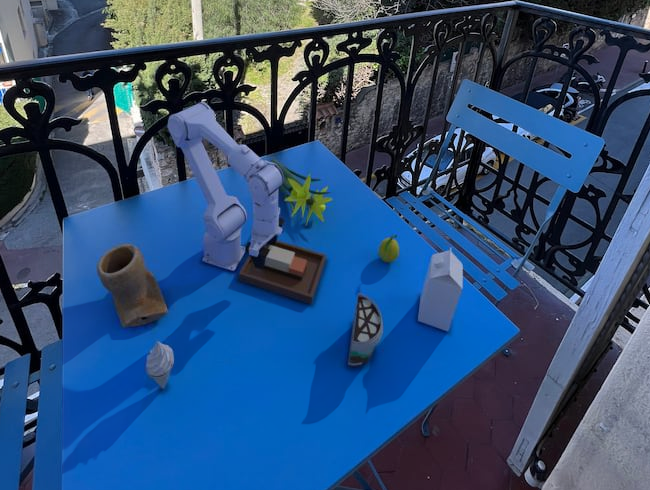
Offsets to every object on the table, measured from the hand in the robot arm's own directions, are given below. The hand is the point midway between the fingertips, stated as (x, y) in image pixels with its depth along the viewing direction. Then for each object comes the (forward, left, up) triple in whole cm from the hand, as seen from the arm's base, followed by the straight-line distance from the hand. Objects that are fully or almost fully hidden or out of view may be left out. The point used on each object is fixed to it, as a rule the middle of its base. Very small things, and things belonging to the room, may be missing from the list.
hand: (265, 255), depth 99 cm
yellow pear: (+29, +18, -10) cm, 36 cm away
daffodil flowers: (-4, +30, -10) cm, 32 cm away
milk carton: (+42, +6, -10) cm, 44 cm away
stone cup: (-27, -16, -10) cm, 33 cm away
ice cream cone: (-10, -29, -10) cm, 32 cm away
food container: (+27, -8, -10) cm, 30 cm away
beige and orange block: (+3, +5, -9) cm, 11 cm away
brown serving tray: (+3, +5, -10) cm, 12 cm away
